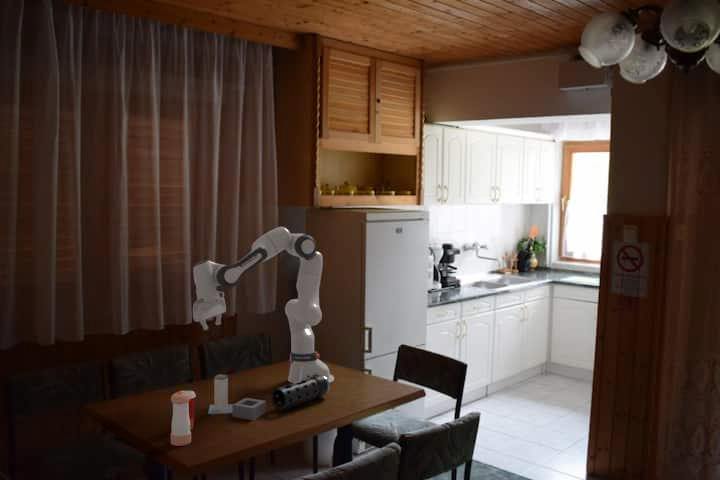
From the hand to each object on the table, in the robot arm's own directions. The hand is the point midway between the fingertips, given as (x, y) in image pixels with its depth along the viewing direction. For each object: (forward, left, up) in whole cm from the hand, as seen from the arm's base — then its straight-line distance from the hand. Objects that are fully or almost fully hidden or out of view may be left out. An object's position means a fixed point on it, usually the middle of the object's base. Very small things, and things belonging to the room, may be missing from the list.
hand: (212, 327), depth 298 cm
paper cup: (+7, +42, -31) cm, 53 cm away
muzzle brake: (-39, +17, -31) cm, 53 cm away
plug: (-5, +22, -30) cm, 38 cm away
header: (-17, +29, -31) cm, 46 cm away
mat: (-5, +22, -31) cm, 38 cm away
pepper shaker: (+7, +56, -31) cm, 64 cm away
